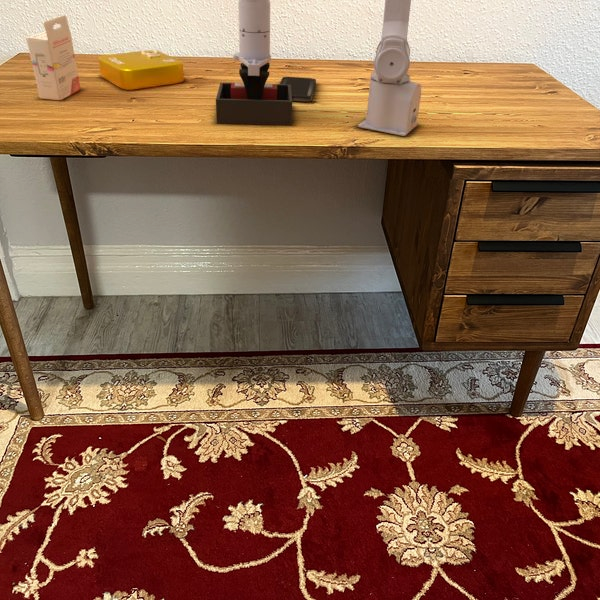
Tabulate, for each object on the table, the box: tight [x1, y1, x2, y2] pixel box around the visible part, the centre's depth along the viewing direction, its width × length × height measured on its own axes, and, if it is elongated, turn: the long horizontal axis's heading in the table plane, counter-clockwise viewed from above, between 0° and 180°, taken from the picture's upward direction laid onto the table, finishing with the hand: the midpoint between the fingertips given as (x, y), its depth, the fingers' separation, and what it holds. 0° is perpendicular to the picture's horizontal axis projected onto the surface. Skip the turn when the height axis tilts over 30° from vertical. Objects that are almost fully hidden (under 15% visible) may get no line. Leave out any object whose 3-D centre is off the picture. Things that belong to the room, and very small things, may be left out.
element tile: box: [98, 49, 185, 91], centre depth 134 cm, size 15×15×5 cm
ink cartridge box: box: [25, 14, 81, 101], centre depth 120 cm, size 9×5×15 cm, turn 168°
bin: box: [215, 82, 293, 126], centre depth 116 cm, size 14×12×4 cm
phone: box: [279, 76, 317, 103], centre depth 131 cm, size 8×1×15 cm
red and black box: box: [231, 82, 278, 100], centre depth 116 cm, size 9×3×5 cm, turn 92°
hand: (254, 104), depth 116 cm, fingers closed on red and black box, 3 cm apart
